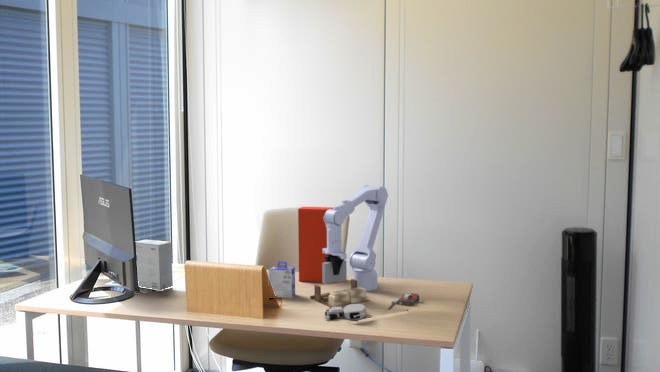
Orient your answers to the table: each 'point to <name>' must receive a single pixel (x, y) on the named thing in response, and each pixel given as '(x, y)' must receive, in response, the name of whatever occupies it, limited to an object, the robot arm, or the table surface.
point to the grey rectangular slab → (328, 273)
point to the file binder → (311, 242)
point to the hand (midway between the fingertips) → (334, 274)
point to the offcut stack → (347, 296)
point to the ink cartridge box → (282, 280)
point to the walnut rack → (324, 297)
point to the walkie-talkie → (406, 300)
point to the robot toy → (347, 312)
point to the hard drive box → (154, 264)
